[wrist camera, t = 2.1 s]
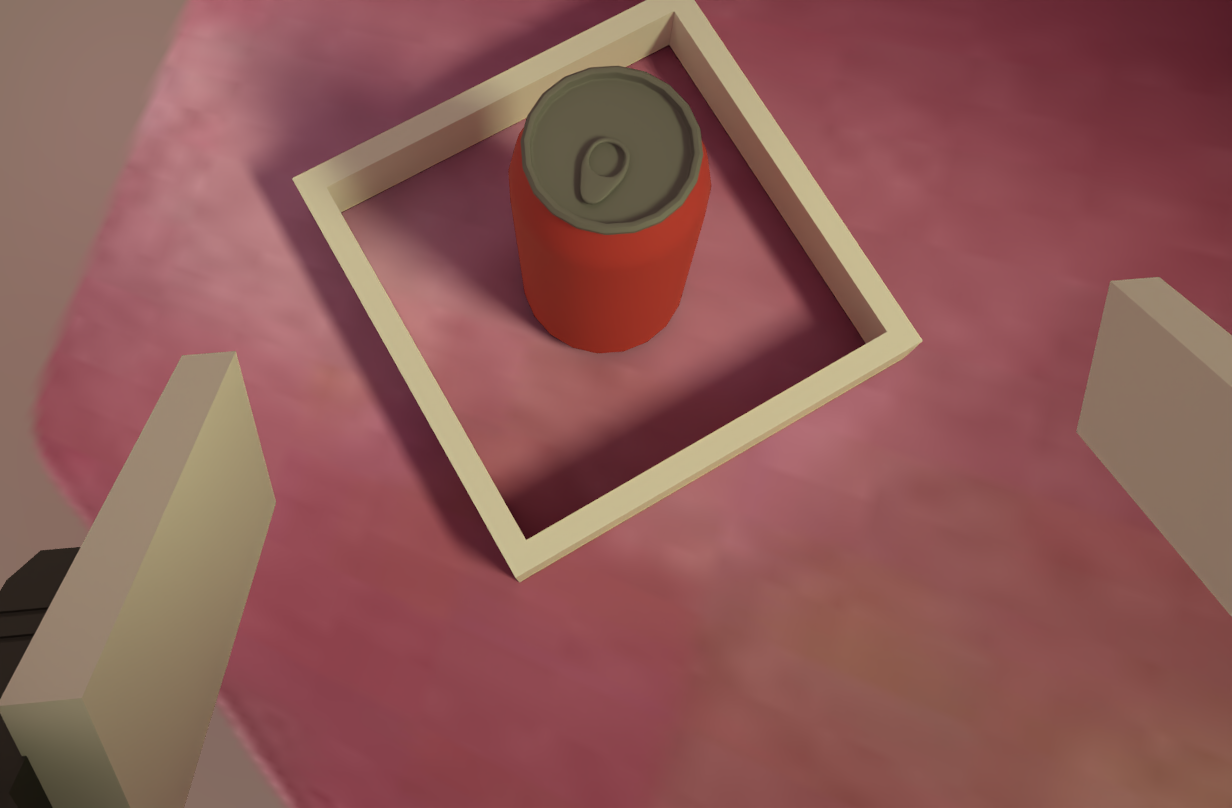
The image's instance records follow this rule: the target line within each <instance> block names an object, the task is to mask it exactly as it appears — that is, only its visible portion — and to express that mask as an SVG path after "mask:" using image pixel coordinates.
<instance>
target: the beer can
mask: <svg viewBox="0 0 1232 808" xmlns="http://www.w3.org/2000/svg"><path fill="white" fill-rule="evenodd" d="M508 172H509V186H510V200H511V207H512V213H513V220H514V226H515V233H516V240H517V246H518V253H519V259H520V266H521V272H522V279H523V285H524V292H525V295H526V298H527V300H528V302H529V305H530V307H531V309H532V312H533V314H534V316H535V317H536V318H537V319H538V321H539V322H540V323H541V324H542V325H543V326H544V327H545V329H546V330H547V331H548V332H549V333H550V334H551V335H552V336H554V337H556V338H558V339H559V340H561V341H563V342H564V343H566V344H568V345H569V346H571V347H573V348H577V349H582V350H586V351H590V352H595V353H607V352H621V351H625V350H628V349H630V348H633V347H635V346H638V345H640V344H643V343H645V342H647V341H649V340H650V339H651V338H652V337H653V336H655V335H656V334H657V333H658V332H659V331H661V330H662V329H663V328H664V327H665V326H666V325H667V324H668V322H669V320H670V319H671V317H672V316H673V314H674V312H675V311H676V309H677V307H678V306H679V303H680V300H681V296H682V293H683V289H684V286H685V282H686V279H687V275H688V272H689V268H690V265H691V262H692V258H693V255H694V251H695V248H696V244H697V241H698V237H699V234H700V230H701V227H702V223H703V220H704V216H705V212H706V208H707V203H708V199H709V194H710V190H711V180H710V172H709V163H708V156H707V151H706V148H705V146H704V144H703V141H702V139H701V131H700V127H699V125H698V123H697V121H696V119H695V117H694V115H693V113H692V111H691V109H690V107H689V105H688V104H687V103H686V102H685V101H684V99H683V98H682V97H681V96H680V95H679V94H678V93H677V92H676V91H675V90H674V89H673V88H672V87H671V86H670V85H669V84H667V83H665V82H663V81H661V80H660V79H658V78H656V77H654V76H652V75H651V74H649V73H647V72H644V71H640V70H636V69H631V68H627V67H622V66H604V67H590V68H587V69H584V70H582V71H579V72H576V73H573V74H571V75H568V76H565V77H563V78H562V79H561V80H559V81H558V82H557V83H555V84H554V85H553V86H551V87H550V88H549V89H548V90H546V91H545V92H544V93H542V95H541V96H540V98H539V99H538V101H537V102H536V104H535V105H534V106H533V108H532V109H531V111H530V112H529V114H528V115H527V119H526V122H525V126H524V128H523V129H522V131H521V132H520V134H519V136H518V139H517V142H516V145H515V149H514V152H513V156H512V160H511V163H510V167H509V171H508Z"/></svg>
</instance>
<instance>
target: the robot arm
mask: <svg viewBox="0 0 1232 808" xmlns="http://www.w3.org/2000/svg"><path fill="white" fill-rule="evenodd" d="M1076 432H1077V433H1078V434H1079V436H1080V437H1081V438H1082V439H1083V440H1084V442H1085V443H1086V444H1087V445H1088V446H1089V448H1090V449H1091V450H1092V451H1093V452H1094V453H1095V455H1096V456H1097V457H1098V458H1099V459H1100V461H1101V462H1102V463H1103V464H1104V465H1105V467H1106V468H1107V469H1108V470H1109V471H1110V473H1111V474H1112V475H1113V476H1114V477H1115V478H1116V480H1117V481H1118V482H1119V483H1120V484H1121V486H1122V487H1123V488H1124V489H1125V490H1126V492H1127V493H1128V494H1129V495H1130V496H1131V498H1132V499H1133V500H1134V501H1135V502H1136V503H1137V505H1138V506H1139V507H1140V508H1141V509H1142V511H1143V512H1144V513H1145V514H1146V515H1147V517H1148V518H1149V519H1150V520H1151V521H1152V522H1153V524H1154V525H1155V526H1156V527H1157V528H1158V530H1159V531H1160V532H1161V533H1162V534H1163V536H1164V537H1165V538H1166V539H1167V540H1168V542H1169V543H1170V544H1171V545H1172V546H1173V547H1174V549H1175V550H1176V551H1177V552H1178V553H1179V555H1180V556H1181V557H1182V558H1183V559H1184V561H1185V562H1186V563H1187V564H1188V565H1189V567H1190V568H1191V569H1192V570H1193V571H1194V572H1195V574H1196V575H1197V576H1198V577H1199V578H1200V580H1201V581H1202V582H1203V583H1204V584H1205V586H1206V587H1207V588H1208V589H1209V590H1210V592H1211V593H1212V594H1213V595H1214V596H1215V597H1216V599H1217V600H1218V601H1219V602H1220V603H1221V605H1222V606H1223V607H1224V608H1225V609H1226V611H1227V612H1228V613H1229V614H1230V615H1231V616H1232V335H1230V334H1229V333H1228V332H1227V331H1226V330H1224V329H1223V328H1222V327H1221V326H1219V325H1218V324H1217V323H1216V322H1214V321H1213V320H1212V319H1211V318H1209V317H1208V316H1207V315H1206V314H1204V313H1203V312H1202V311H1201V310H1199V309H1198V308H1197V307H1196V306H1194V305H1193V304H1192V303H1191V302H1189V301H1188V300H1187V299H1186V298H1184V297H1183V296H1182V295H1181V294H1179V293H1178V292H1177V291H1176V290H1175V289H1173V288H1172V287H1171V286H1170V285H1168V284H1167V283H1166V282H1165V281H1163V280H1162V279H1161V278H1160V277H1154V278H1142V279H1129V280H1117V281H1110V285H1109V290H1108V294H1107V298H1106V303H1105V307H1104V312H1103V316H1102V321H1101V325H1100V329H1099V334H1098V338H1097V343H1096V347H1095V352H1094V356H1093V360H1092V365H1091V369H1090V374H1089V378H1088V383H1087V387H1086V391H1085V396H1084V400H1083V405H1082V409H1081V414H1080V418H1079V422H1078V427H1077V431H1076ZM275 504H276V500H275V497H274V493H273V489H272V485H271V482H270V478H269V474H268V470H267V467H266V463H265V459H264V455H263V452H262V448H261V444H260V440H259V437H258V433H257V429H256V425H255V422H254V418H253V414H252V410H251V407H250V403H249V399H248V395H247V392H246V388H245V384H244V381H243V377H242V373H241V369H240V366H239V362H238V358H237V354H236V351H232V352H219V353H207V354H194V355H182V357H181V358H180V360H179V362H178V364H177V366H176V368H175V370H174V372H173V374H172V376H171V377H170V379H169V381H168V383H167V385H166V387H165V389H164V391H163V393H162V394H161V396H160V398H159V400H158V402H157V404H156V406H155V408H154V410H153V411H152V413H151V415H150V417H149V419H148V421H147V423H146V425H145V427H144V428H143V430H142V432H141V434H140V436H139V438H138V440H137V442H136V444H135V445H134V447H133V449H132V451H131V453H130V455H129V457H128V459H127V461H126V462H125V464H124V466H123V468H122V470H121V472H120V474H119V476H118V478H117V479H116V481H115V483H114V485H113V487H112V489H111V491H110V493H109V495H108V496H107V498H106V500H105V502H104V504H103V506H102V508H101V510H100V512H99V513H98V515H97V517H96V519H95V521H94V523H93V525H92V527H91V529H90V530H89V532H88V534H87V536H86V538H85V540H84V542H83V544H82V546H81V547H76V548H65V549H54V550H42V551H40V552H39V553H38V554H36V555H35V556H34V557H33V558H32V559H31V560H29V561H28V562H27V563H26V564H25V565H24V566H23V567H21V568H20V569H19V570H18V571H17V572H16V573H14V574H13V575H12V576H11V577H10V578H9V579H8V580H6V582H5V584H4V585H3V587H2V589H1V591H0V808H184V806H185V803H186V800H187V796H188V793H189V790H190V786H191V783H192V780H193V777H194V773H195V770H196V766H197V763H198V760H199V756H200V753H201V750H202V747H203V743H204V740H205V737H206V733H207V730H208V727H209V723H210V720H211V716H212V713H213V710H214V707H215V703H216V700H217V697H218V694H219V690H220V687H221V684H222V680H223V677H224V674H225V670H226V667H227V664H228V660H229V657H230V654H231V650H232V647H233V644H234V640H235V637H236V634H237V630H238V627H239V624H240V620H241V617H242V614H243V610H244V607H245V604H246V601H247V597H248V594H249V591H250V587H251V584H252V581H253V577H254V574H255V571H256V567H257V564H258V561H259V557H260V554H261V551H262V547H263V544H264V541H265V537H266V534H267V531H268V527H269V524H270V521H271V517H272V514H273V511H274V508H275Z"/></svg>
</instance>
